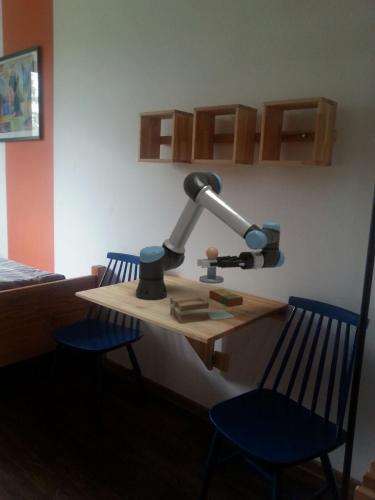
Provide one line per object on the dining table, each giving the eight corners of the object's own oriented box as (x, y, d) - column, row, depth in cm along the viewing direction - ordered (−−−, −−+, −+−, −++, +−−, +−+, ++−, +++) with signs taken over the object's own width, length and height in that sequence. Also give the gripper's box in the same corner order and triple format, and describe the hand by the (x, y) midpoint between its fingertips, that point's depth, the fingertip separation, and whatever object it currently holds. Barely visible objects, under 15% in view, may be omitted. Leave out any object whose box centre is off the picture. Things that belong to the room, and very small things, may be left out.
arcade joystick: (195, 278, 176) (196, 245, 173) (216, 277, 179) (217, 244, 177) (205, 284, 166) (206, 249, 164) (227, 282, 170) (229, 248, 168)
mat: (202, 312, 179) (202, 312, 179) (222, 310, 183) (223, 309, 183) (212, 320, 170) (212, 319, 170) (234, 317, 174) (234, 316, 174)
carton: (223, 296, 206) (223, 288, 206) (243, 305, 193) (243, 296, 192) (208, 298, 202) (209, 289, 202) (228, 307, 189) (228, 298, 188)
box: (169, 314, 177) (170, 297, 176) (196, 311, 182) (196, 295, 180) (180, 323, 166) (181, 306, 165) (208, 320, 171) (209, 303, 169)
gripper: (260, 273, 172) (208, 277, 163) (240, 265, 187) (191, 268, 178) (261, 254, 170) (208, 258, 161) (240, 248, 185) (191, 251, 177)
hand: (199, 263), depth 170 cm, fingers closed on arcade joystick, 4 cm apart
